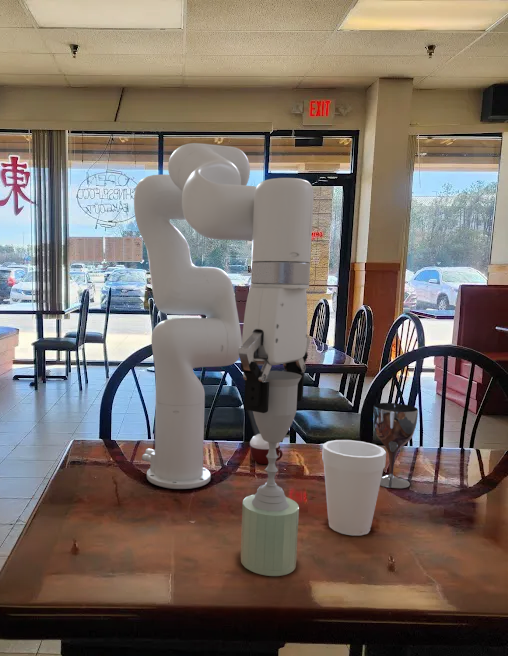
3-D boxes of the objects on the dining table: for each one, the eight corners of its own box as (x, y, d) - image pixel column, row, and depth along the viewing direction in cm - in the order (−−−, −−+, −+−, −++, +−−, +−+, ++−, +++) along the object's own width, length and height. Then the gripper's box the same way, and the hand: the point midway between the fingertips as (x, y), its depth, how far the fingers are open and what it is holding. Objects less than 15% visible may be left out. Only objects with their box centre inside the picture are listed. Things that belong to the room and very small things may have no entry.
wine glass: (404, 475, 116) (409, 403, 114) (418, 490, 108) (424, 412, 106) (364, 473, 117) (369, 402, 115) (375, 487, 109) (380, 411, 107)
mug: (297, 579, 75) (300, 517, 74) (239, 572, 77) (241, 512, 76) (293, 543, 86) (295, 488, 85) (242, 538, 87) (244, 484, 86)
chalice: (284, 518, 74) (291, 381, 72) (236, 506, 77) (241, 376, 75) (302, 500, 80) (308, 373, 78) (257, 490, 84) (261, 369, 81)
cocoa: (287, 467, 120) (289, 411, 119) (259, 469, 119) (262, 413, 117) (266, 453, 129) (268, 401, 128) (241, 455, 128) (243, 403, 126)
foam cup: (349, 544, 85) (354, 460, 84) (306, 521, 93) (310, 444, 92) (393, 532, 90) (399, 452, 88) (348, 511, 98) (353, 437, 96)
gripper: (285, 277, 84) (280, 392, 86) (219, 276, 71) (215, 411, 73) (334, 278, 79) (327, 399, 81) (273, 276, 66) (267, 421, 68)
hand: (274, 405), depth 77 cm, fingers open, 9 cm apart
